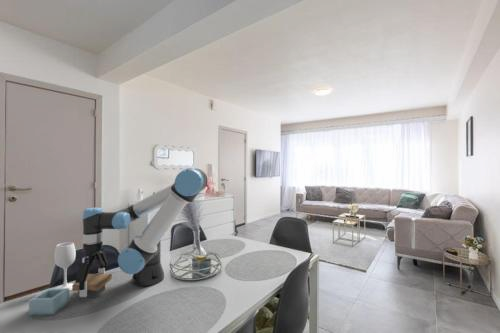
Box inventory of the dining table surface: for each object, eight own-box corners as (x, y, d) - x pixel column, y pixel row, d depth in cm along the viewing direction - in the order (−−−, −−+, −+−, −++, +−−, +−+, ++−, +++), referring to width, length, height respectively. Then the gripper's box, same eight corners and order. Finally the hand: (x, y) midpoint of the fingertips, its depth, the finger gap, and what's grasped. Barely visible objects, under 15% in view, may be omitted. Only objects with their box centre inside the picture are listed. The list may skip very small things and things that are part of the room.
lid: (111, 278, 118) (111, 273, 118) (98, 290, 107) (98, 284, 107) (88, 279, 118) (88, 273, 118) (72, 290, 107) (72, 284, 107)
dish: (69, 302, 105) (69, 288, 105) (52, 315, 96) (52, 299, 96) (47, 302, 105) (47, 288, 105) (29, 315, 96) (29, 300, 96)
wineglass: (49, 294, 112) (49, 247, 112) (58, 285, 120) (58, 242, 120) (71, 291, 114) (71, 246, 114) (79, 283, 122) (79, 240, 123)
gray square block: (105, 289, 116) (105, 280, 116) (96, 297, 109) (96, 288, 109) (90, 289, 116) (90, 281, 116) (80, 297, 109) (80, 288, 109)
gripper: (100, 234, 125) (100, 276, 125) (64, 251, 100) (64, 304, 100) (115, 234, 125) (115, 276, 125) (83, 251, 100) (83, 303, 100)
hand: (93, 288), depth 113 cm, fingers open, 13 cm apart
